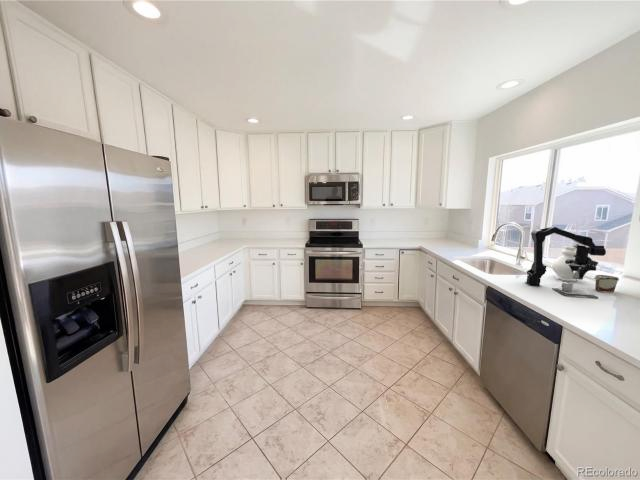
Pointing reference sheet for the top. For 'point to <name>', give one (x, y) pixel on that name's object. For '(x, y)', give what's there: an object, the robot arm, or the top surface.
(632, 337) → the top surface
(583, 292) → the scale pan
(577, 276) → the spacer
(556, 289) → the scale
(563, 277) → the decorative vase
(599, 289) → the food container
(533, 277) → the robot arm
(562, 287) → the spacer
